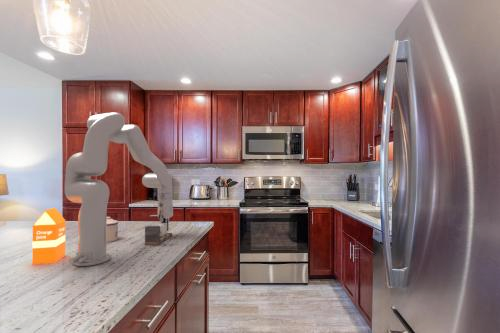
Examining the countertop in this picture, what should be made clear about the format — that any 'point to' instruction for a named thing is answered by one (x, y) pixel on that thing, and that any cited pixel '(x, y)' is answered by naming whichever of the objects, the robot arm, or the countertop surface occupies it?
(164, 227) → the gauge slider
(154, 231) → the gauge base
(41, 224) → the orange juice
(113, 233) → the teacup with lid
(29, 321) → the countertop surface
